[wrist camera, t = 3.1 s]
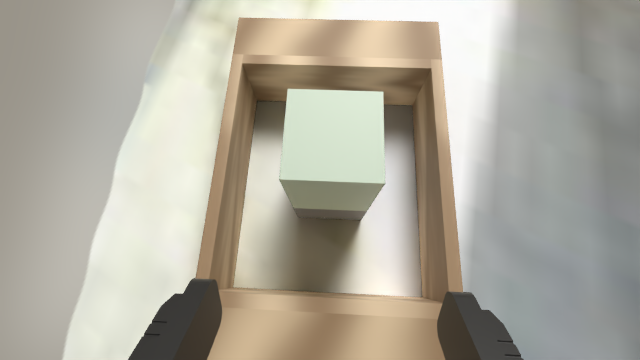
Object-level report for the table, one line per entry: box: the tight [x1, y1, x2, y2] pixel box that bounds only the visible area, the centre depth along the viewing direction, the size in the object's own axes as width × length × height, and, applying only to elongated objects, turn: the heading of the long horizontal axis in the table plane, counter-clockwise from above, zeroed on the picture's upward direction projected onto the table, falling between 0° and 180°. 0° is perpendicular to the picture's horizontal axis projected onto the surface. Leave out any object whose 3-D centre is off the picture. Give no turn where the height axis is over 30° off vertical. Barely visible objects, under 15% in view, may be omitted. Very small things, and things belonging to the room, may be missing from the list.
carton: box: [196, 18, 463, 360], centre depth 22 cm, size 16×25×5 cm, turn 177°
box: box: [279, 89, 385, 220], centre depth 19 cm, size 5×5×10 cm
